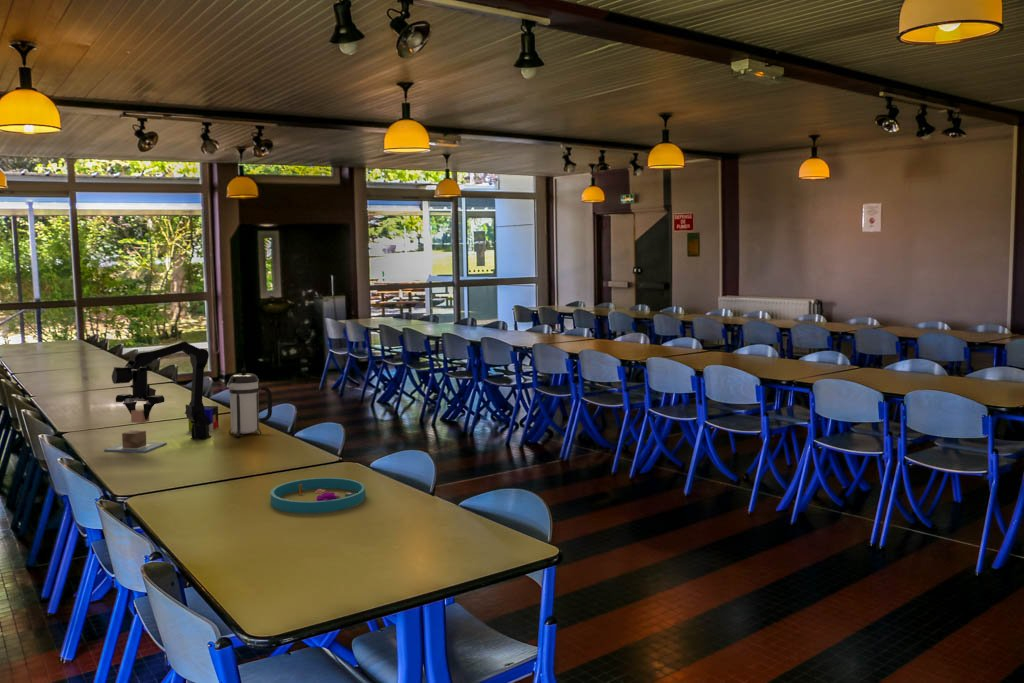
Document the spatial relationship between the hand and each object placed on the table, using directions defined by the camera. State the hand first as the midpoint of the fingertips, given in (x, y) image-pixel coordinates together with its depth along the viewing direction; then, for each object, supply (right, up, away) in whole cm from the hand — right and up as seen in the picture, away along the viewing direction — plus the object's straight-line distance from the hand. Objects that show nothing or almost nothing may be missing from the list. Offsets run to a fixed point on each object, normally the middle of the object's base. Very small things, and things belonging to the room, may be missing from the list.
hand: (140, 419), depth 345 cm
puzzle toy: (+12, -9, +40) cm, 42 cm away
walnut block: (-2, -11, -2) cm, 11 cm away
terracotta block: (0, -1, 0) cm, 1 cm away
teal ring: (+92, -20, -76) cm, 121 cm away
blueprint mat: (-1, -12, -1) cm, 12 cm away
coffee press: (+36, -9, +29) cm, 47 cm away
